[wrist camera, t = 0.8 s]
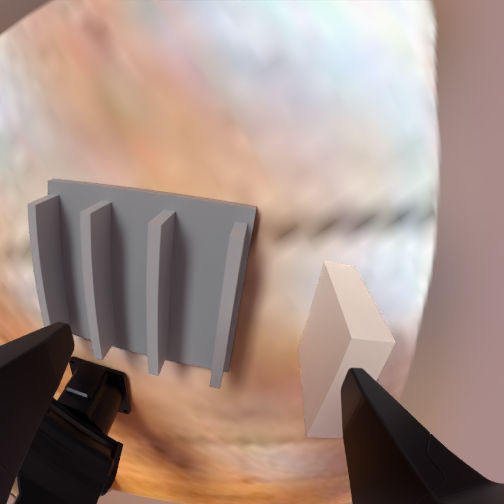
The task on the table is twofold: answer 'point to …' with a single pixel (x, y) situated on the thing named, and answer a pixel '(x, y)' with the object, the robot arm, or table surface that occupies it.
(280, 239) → the table surface
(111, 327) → the dish rack
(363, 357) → the beige upright tile
